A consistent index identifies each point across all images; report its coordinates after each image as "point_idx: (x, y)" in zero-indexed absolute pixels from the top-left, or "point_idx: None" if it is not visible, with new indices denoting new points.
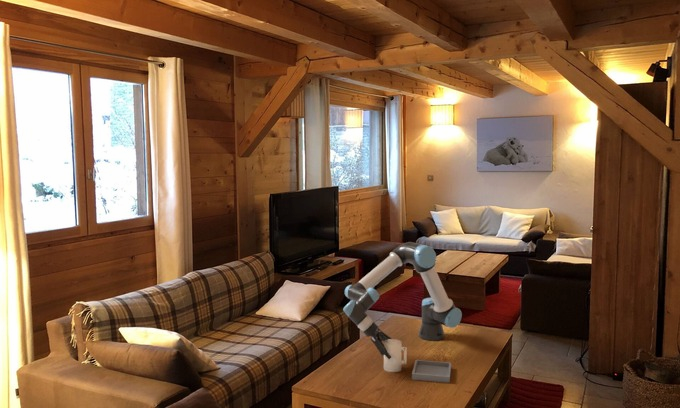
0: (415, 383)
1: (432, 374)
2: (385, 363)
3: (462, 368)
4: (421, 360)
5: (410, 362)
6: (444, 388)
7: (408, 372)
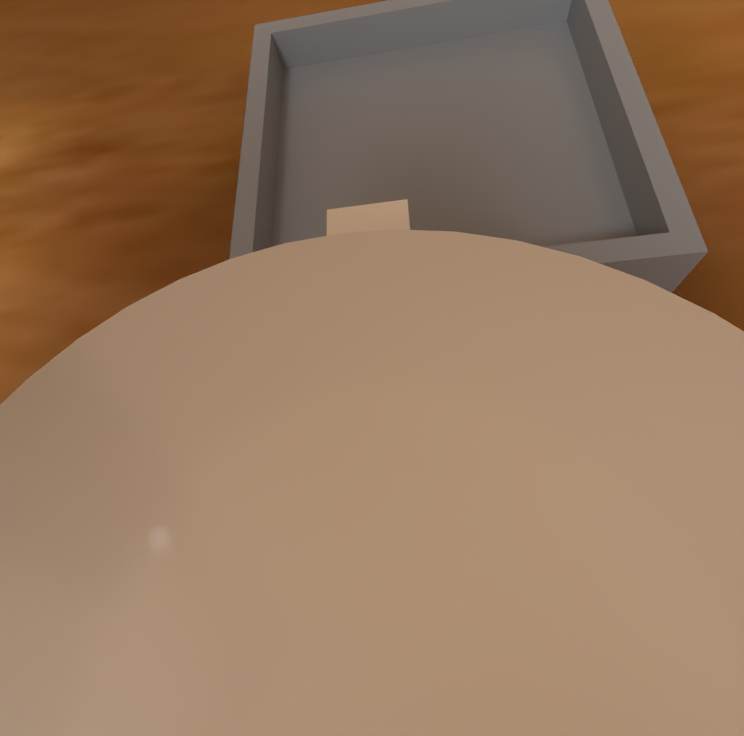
0: (741, 248)
1: (495, 132)
2: None
3: None
4: (242, 240)
5: None
6: (701, 35)
7: None
